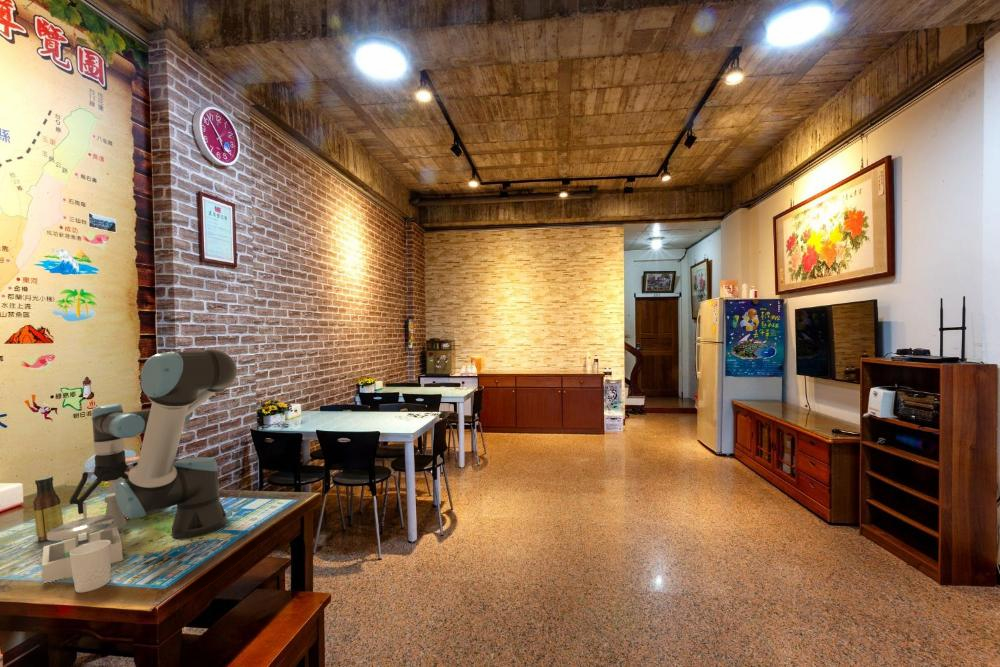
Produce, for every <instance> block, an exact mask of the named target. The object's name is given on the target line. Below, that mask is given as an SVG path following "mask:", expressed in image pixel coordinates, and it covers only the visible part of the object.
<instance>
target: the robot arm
mask: <svg viewBox="0 0 1000 667" xmlns="http://www.w3.org/2000/svg"><path fill="white" fill-rule="evenodd" d="M140 371H141V372H140V380H141V382H140V387H141V389H142V391H143V394H145V395H146V396H147V398H148V400H149V401H150V402H151V406H150V408H147V409H146V408H145V409H140V410H133V411H127V412H124V410H123V406H122V405H121V404H118V403H113V404H112V403H111V404H104V405H99V406H95V407H93V409H92V413H91V416H92V417H91V420H92V421H91V422H92V433H93V449H94V450H93V451H94V454H95V456H94V469H93V470H89V471H88V470H83V471H82V472H81V478H80V481H79V483H77V486H76V488H75V490H74V492H73V493H72V494H71V495H72V496H71V497H70V498H69V504H70V505H73V504H74V505H77V512H78V513H77V514H78V515H83V518H88V513H87V502H86V500H87V498H88V497H89V496H90V495H91V494H92V493H93V492H94V491H95V490H96V488H97V487H98V486H100V485H101V483H102V482H104V483H105V482H106V483H107V482H110V481H111V480H117V479H119V478H120V477H122V478H123V479H125V481H124V480H122V481H121V482H119V483H117V485H116V487H115V495H116V500H117V503H118V506H119V508H120V510H121V512H122V513H123V515H124V516H125V517H127V518H129V519H128V520H134V519H139V518H142V517H145V516H148V515H151V513H152V514H155V513H154V512H156V513H158V512H157V511H160V510H165V509H168V508H171V507H174V506H176V512H175V516H174V519H173V523H172V526H171V536H172V538H175V539H191V538H196V537H201V536H205V535H207V534H210V533H213V532H216V531H217V530H219V529H221V528H223V527H224V526H225V525H226V524H227V523H228V519H227V518H228V517H227V514H226V511H225V509H224V507H223V504H222V503H221V500H220V487H219V485H220V484H219V469H218V468H219V467H218V464H217V460H216V459H215V458H213V457H208V456H207V457H206V456H197V457H186V458H181V459H178V460H176V456H177V454H178V450H179V449H178V448H179V445H180V440H181V436H182V433H183V429H184V426H185V425H186V424H187V423H189V422H190V419H191V415H192V414H191V413H192V412H194V411H195V410H196V409H197V408H199V407H200V406H201V405H202V404H203V403H205V402H206V401H207V400H208V399H210V398H212V396H213V395H214V394H217V393H221V392H223V391H225V390H226V389H227V388H229V387H230V386H231V385H232V384H233V383H234V382H235V380H236V377H237V374H238V368H237V364H236V362H235V360H234V359H233V358H232V357H231V356H230V355H229V354H227V353H226V352H224V351H223V350H222V351H221V350H217V349H202V350H187V351H167V352H162V353H156V354H154V355H152V356H150V357H149V358H147V359H146V361H145V362H144V364H143V366H142V368H141V370H140ZM141 434H144V436H143V440H142V445H141V447H140V448H141V449H140V453H139V460H138V463H137V462H136V461H134V462H133V463H130V464H126V461H125V459H126V450H124V449H125V445H126V444H125V439H131V438H134V437H135V438H136V437H137V436H138V435H141ZM128 467H130V468H131V470H130V472H129V475H127V474H126V473H125V471H126V470H127V468H128ZM92 475H93V476H95V477H96V478H95V480H94V481H93V483H91V485H90V486H88V488H87V489H86V490H85V491H84V492H83V493H82V495H81V496H80V497H79V495H80V494H81V492H82V490H83V488H84V486H85V485H86V483H87V481H88V479H90V478H91V477H92ZM78 497H79V498H78Z"/></svg>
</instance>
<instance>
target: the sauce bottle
mask: <svg viewBox="0 0 1000 667" xmlns="http://www.w3.org/2000/svg"><path fill="white" fill-rule="evenodd" d="M34 481H35V482H34V483H35V485H36V493H37V494H36V495H35V497H34V500H33V501H32V502H33V515H34V522H35V530H36V531H35V532H36V537H37V540H38V541H39V542H43V541H46V540H47V541H49V540H48V539H47V533H48V532H49V531H51V530H52V529H54V528H56V527H58V526H61V525H63V524H64V519H63V511H62V510H63V509H62V503H61V499H60V497H59V495H58V494H57V492H56V490H55V489H54V488H55V487H54V482H53V481H54V477H53V475H48V476H47V475H46V476H43V477H39V478H36V479H35V480H34Z"/></svg>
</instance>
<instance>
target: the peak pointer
mask: <svg viewBox="0 0 1000 667" xmlns="http://www.w3.org/2000/svg"><path fill="white" fill-rule="evenodd" d="M87 542H88V538H87V539H86V540H82V541H79V540H78V545H80V544H83V543H87Z"/></svg>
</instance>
